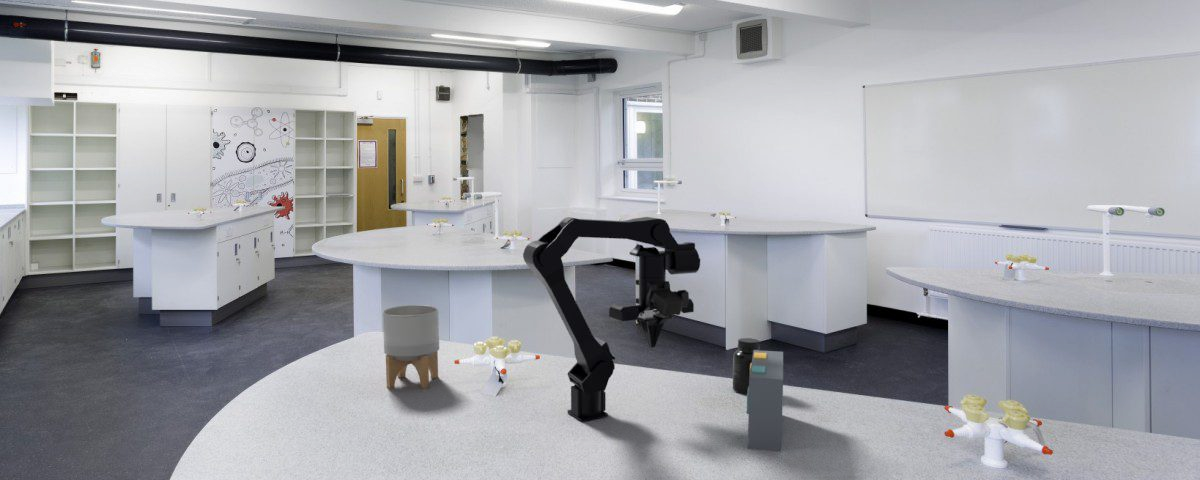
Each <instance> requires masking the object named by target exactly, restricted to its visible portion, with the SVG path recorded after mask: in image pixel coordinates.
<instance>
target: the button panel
mask: <svg viewBox="0 0 1200 480" xmlns="http://www.w3.org/2000/svg"><path fill="white" fill-rule="evenodd" d="M783 397H784V351H775V350H774V351H773V350H760V349H758V350H754V351H753V357H752V364H751V370H750V376H749V414H748V421H747V422H748V429H747V430H748V431H747V432H748V433H747V449H750V450H760V451H761V450H762V451H772V452H782V444H783V443H782V440H783V438H782V436H783V405H784V402H783V399H784V398H783Z"/></svg>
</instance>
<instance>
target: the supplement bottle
mask: <svg viewBox="0 0 1200 480" xmlns="http://www.w3.org/2000/svg"><path fill="white" fill-rule="evenodd" d="M737 348H738V349H737V350H736V351H734V353H733V356H732V357H733V360H732V361H733V362H732V390H733V391H734V392H735V393H738V394H742V395H747V391H748V387H749V376H750V364H751V363H752V357H753V351H754V350H760V340H758V339H755V338H750V337H744V338H738V339H737Z"/></svg>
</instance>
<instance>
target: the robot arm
mask: <svg viewBox="0 0 1200 480" xmlns="http://www.w3.org/2000/svg"><path fill="white" fill-rule="evenodd" d="M579 238H595V239H619V240H630V241H633V242H634V241H635V242H639V243H643V244H647V245H652V246H649V247H648V246H646V247H644V245H642V244H638V243H637V244H636V245H635V246H634V248H632V249H631V250H630V251H629V255H631V256H634V257H638V279H635V285H636V286H638V297H637V298H635V304H636V305H635V304H632V303H630V302H625V301H623V302H617V303H611V305H610V307H609V308H608V309H609V310H608V317H609V318H613V319H616V320H619V321H621V322H629V321H636V323H638V325H639V328H640V329H641V331H642V334H643V335H644V338H645V341H646V343H647V346H648V347H649V348H652V349H653V348H655V347H656V346H657V342H658V340H659V337H660V334H661V332H662V329H663V328H664V325H665V323H667V321H669V320H671V319H672V318H673V317H674V316H679V315H681V313H682V314H688V313H694V312H695V310H694V309H695V306H694V305H695V304H694V301H693V300H692V298H690V296H689V291H688V290H686V289H678V290H677V291H676V290H675V291H672V290H671V284H670V281H669V280H666V278H667V277H666V276H667V275H666V274H667V273H666V271H667V272H668V273H669V274H670V275H685V274H686V275H687V274H695V273H698V271H699V269H700V268H701V257H700V256H699V252H698V250H697V249H696V243H695V242H690V241H687V242H682V243H678V241H677V240H676V239H675V237H674V236H673V235H672V233H671V227H670V225H669V224H668V222H667V221H666V220H665V219H662V218H657V217H651V216H644V217H636V218H632V219H631V218H630V219H627V220H609V219H591V218H590V219H589V218H587V219H585V218H577V217H576V218H575V217H564V218H563V219H562V220H561V221H560V222H558V223H557V224H556V225H555V226H554V227H553V228H551V229H550V230H548V231H547V232H544V234H542V235H541V236H540V237H539V238H538V239H537V240H533V241H531V242H529V243H528V244H527V245H526V246H525V248H524V250H523V253H522V257H523V260H524V262H525V264H526V266H527V267H528V269H530V271H531V273H533V275H534V276H535V277H536V278H537V279H538V280H539V281H540V282H541V283H542V284H543V286H544V287H545V289H546V291H547V293H548V295H549V297H550V299H551V301H552V303H553V305H554V307H555V309H556V311H557V313H558V315H559V316H560V318H561V321H562V322H563V324H564V326H565V329H566V330H567V332H568V334H569V336H570V338H571V340H572V342H573V349H574V356H575V359H576V363H575V364H574V365H573V366H572V367H571V369H570V370H569V371H568V372H567V377H568V380H569V382H570V383H572V384H573V385H571V386H570V409H568V410H567V411H566V413H567V414H569V415H570V416H571V417H573V418H575V419H577V420H579V421H580V422H586V421H592V420H595V419H596V420H597V419H600V418H606V417H608V415H609V414H608V413H607V412H606V409H607V408H606V405H607V404H606V401H607V400H606V399H607V398H606V395H607V394H606V389H607V386H608V383H609V380H610V379H611V377H612V375H613V374H614V371H615V369H616V368H615V367H616V365H615V362H614V360H616V357H615V356H614V355H612V353H611V350H610V346H609V344H608V342H607V341H605V340H603V339H602V338H600V337H598V336H595V337H594V336H593V333H592V331H591V329H590V327H589V325H588V323H587V321H586V319H585V316H584V315H583V314H582V311H581V309H580V307H579V304H578V303H577V301H576V299H575V297H574V295H573V293H572V291H571V289H570V287H569V285H568V283H567V281H566V278H565V267H564V263H563V260H562V258H563V257H564V255H566V254H567V253H568V251H569V250H570V249H571V247H572V246H573V244H574V243H575V241H576V240H577V239H579ZM658 248H660V249H664V250H659V249H658ZM673 315H674V316H673Z"/></svg>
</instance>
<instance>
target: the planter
mask: <svg viewBox="0 0 1200 480" xmlns="http://www.w3.org/2000/svg"><path fill="white" fill-rule="evenodd" d="M439 315H440V314H439V308H438V307H436V306H434V305H425V304H409V305H408V304H407V305H401V306H400V305H399V306H395V307H394V306H393V307H389V308H386V309H384V310H383V311H382V327H383V328H382V329H383V330H382V331H383V353H384V354H385V370H386V371H385V374H386V377H385V378H386V388H387V389H392V388H395V385H396V379H397V378H399V377H400V378H399V379H402V378H401V377H403V378H406V377H405V376H406V374H407V373H406V372H407V367H408V365H412V366H413V367H414V368H415V370H416V372H417V375H418V377H419V382H420V388H421V389H428V388H430V380H429V379H430V378H431V379H436V378H439V359H438V358H439V357H438V354H439V353H438V351H439V350H440V322H439V321H440V319H439ZM429 373H430V374H429Z"/></svg>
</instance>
